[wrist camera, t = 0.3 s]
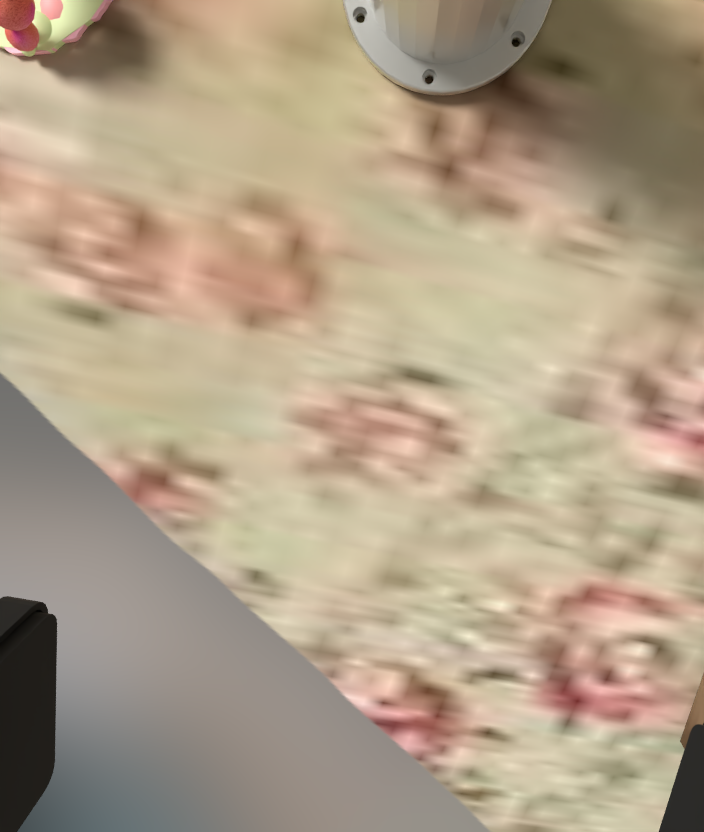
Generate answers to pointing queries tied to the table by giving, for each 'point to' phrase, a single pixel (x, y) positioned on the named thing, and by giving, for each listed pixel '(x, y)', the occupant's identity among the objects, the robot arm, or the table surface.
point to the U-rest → (695, 714)
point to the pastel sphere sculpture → (45, 23)
